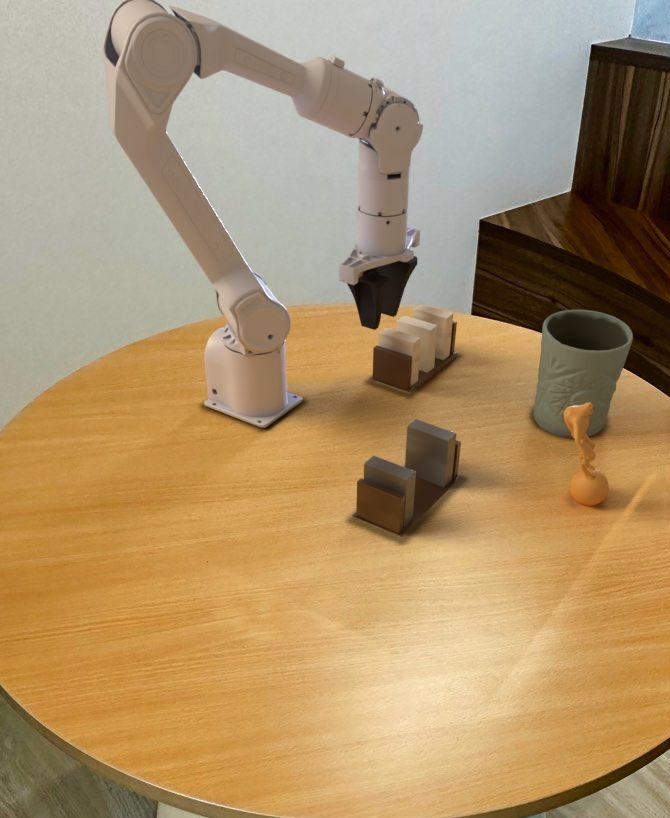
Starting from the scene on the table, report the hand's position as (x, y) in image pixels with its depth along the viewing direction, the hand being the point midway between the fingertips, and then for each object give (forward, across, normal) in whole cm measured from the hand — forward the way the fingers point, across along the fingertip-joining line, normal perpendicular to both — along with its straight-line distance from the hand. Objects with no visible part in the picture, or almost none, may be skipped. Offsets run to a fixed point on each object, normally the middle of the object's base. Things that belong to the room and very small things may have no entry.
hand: (379, 320), depth 108 cm
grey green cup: (+9, +6, -24) cm, 26 cm away
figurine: (+9, -9, -31) cm, 33 cm away
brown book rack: (+9, -19, -16) cm, 26 cm away
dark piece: (+9, +6, -2) cm, 11 cm away
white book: (+8, +6, -2) cm, 10 cm away
